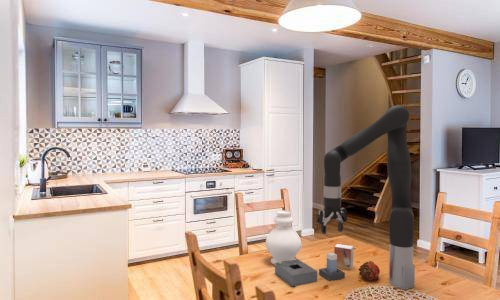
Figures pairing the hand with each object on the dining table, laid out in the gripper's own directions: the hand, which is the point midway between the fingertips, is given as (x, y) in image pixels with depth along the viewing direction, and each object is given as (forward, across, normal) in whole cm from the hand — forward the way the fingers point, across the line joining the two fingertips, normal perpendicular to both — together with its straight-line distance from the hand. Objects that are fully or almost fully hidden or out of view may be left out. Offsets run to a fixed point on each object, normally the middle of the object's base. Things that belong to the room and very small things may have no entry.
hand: (332, 232), depth 161 cm
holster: (+20, 0, 0) cm, 20 cm away
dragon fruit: (+20, +14, -8) cm, 26 cm away
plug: (+20, 0, 0) cm, 20 cm away
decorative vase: (+20, -10, +26) cm, 34 cm away
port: (+20, -15, +6) cm, 26 cm away
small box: (+20, +12, +7) cm, 24 cm away
